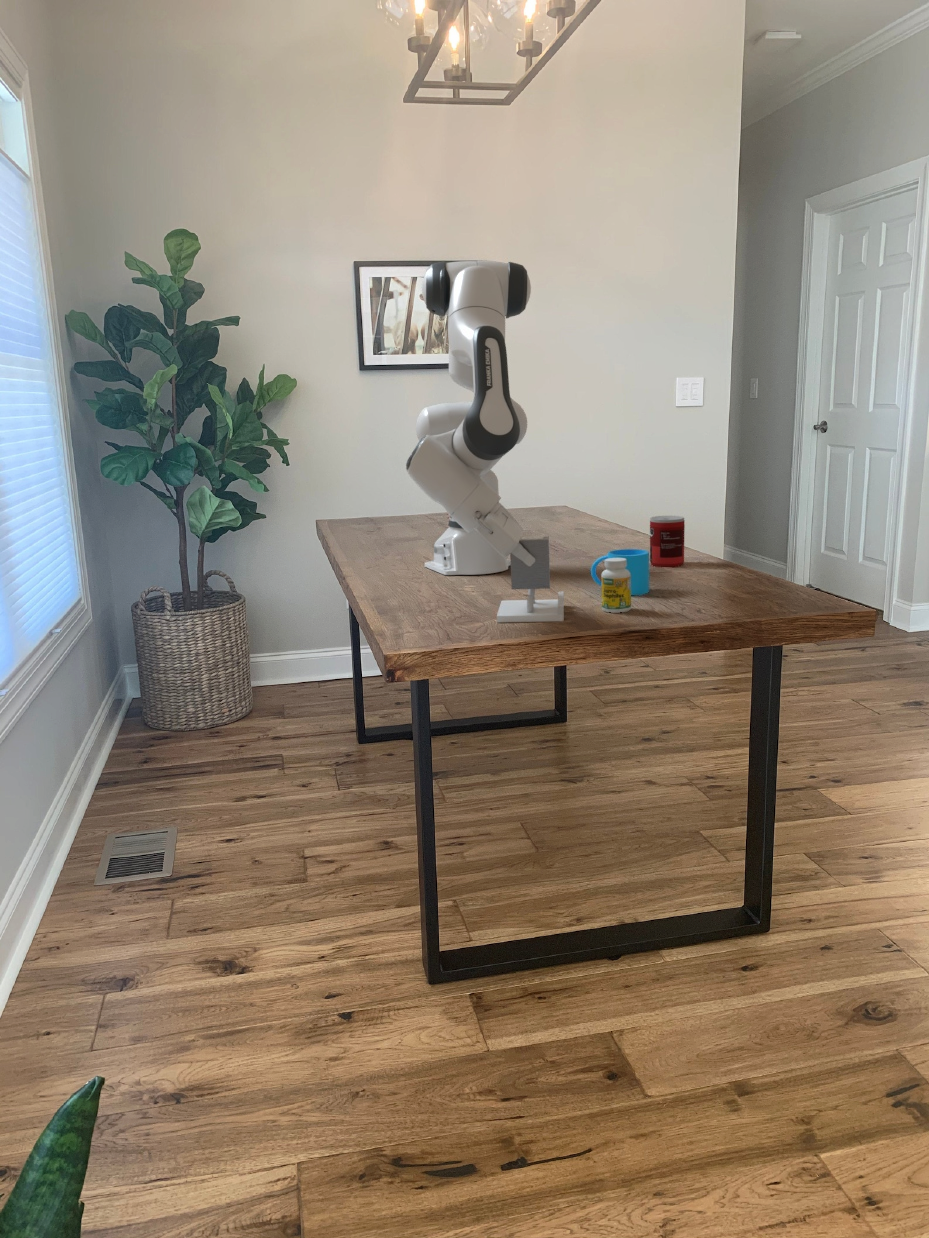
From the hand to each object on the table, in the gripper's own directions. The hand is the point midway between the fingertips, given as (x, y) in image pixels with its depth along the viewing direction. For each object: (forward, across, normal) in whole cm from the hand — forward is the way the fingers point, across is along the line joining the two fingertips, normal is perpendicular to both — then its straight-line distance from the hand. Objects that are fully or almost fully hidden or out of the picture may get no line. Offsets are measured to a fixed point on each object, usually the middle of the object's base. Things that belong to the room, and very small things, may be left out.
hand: (533, 560), depth 170 cm
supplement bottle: (+18, +2, -3) cm, 18 cm away
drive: (+3, 0, +4) cm, 5 cm away
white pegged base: (+7, 0, +8) cm, 10 cm away
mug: (+19, +18, -4) cm, 27 cm away
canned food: (+28, +47, -14) cm, 56 cm away
